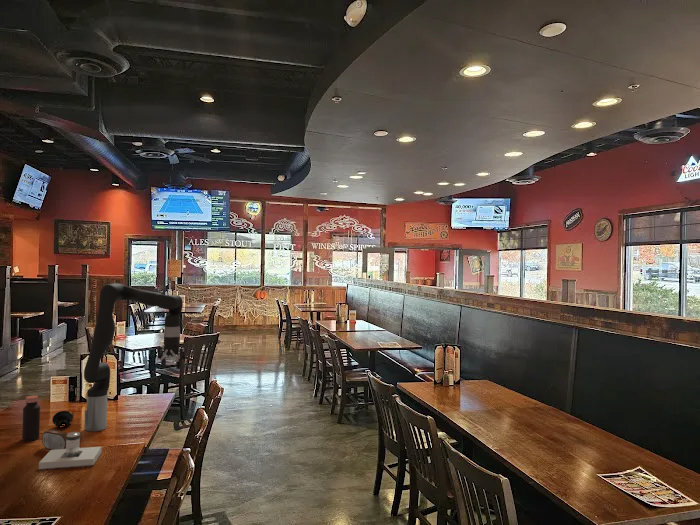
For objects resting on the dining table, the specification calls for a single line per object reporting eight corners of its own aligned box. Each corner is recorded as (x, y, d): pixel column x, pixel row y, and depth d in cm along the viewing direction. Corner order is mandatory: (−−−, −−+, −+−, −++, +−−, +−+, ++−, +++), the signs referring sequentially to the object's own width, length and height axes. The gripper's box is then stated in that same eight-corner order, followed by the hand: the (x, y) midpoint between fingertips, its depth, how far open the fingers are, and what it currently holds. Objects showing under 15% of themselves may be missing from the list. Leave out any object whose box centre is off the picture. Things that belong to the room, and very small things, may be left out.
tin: (71, 451, 215) (71, 432, 215) (65, 453, 212) (65, 434, 212) (46, 446, 220) (47, 427, 220) (40, 448, 217) (40, 429, 217)
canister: (63, 459, 204) (65, 433, 204) (77, 456, 207) (79, 431, 207) (66, 463, 200) (67, 436, 200) (80, 460, 203) (81, 434, 203)
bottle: (42, 438, 229) (43, 396, 230) (27, 442, 223) (29, 399, 224) (33, 435, 232) (34, 394, 233) (18, 440, 226) (20, 397, 226)
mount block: (38, 470, 194) (38, 462, 194) (50, 456, 207) (50, 449, 208) (93, 466, 199) (93, 458, 199) (101, 453, 213) (101, 446, 213)
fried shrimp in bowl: (48, 422, 238) (49, 402, 252) (58, 438, 243) (58, 417, 257) (68, 414, 241) (68, 394, 256) (78, 430, 246) (77, 410, 261)
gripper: (154, 335, 236) (153, 368, 236) (179, 337, 232) (178, 370, 232) (164, 333, 243) (163, 365, 243) (188, 335, 239) (188, 367, 239)
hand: (171, 368), depth 237 cm, fingers open, 8 cm apart
